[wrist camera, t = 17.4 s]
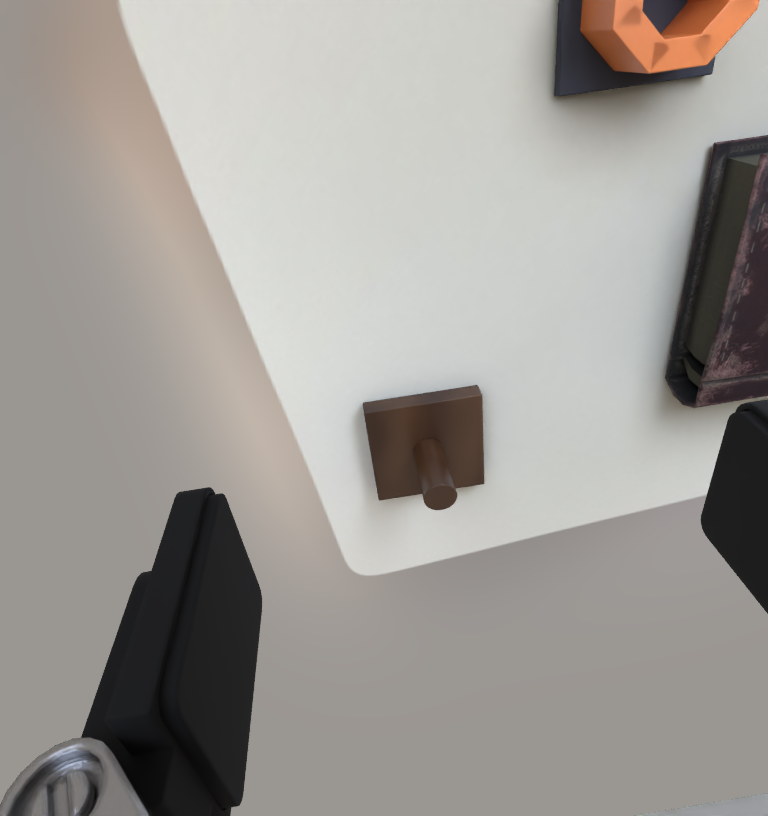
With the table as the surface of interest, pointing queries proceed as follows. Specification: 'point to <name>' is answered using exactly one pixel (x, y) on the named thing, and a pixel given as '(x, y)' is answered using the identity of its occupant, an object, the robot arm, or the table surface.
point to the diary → (726, 284)
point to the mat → (587, 67)
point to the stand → (427, 444)
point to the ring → (672, 49)
